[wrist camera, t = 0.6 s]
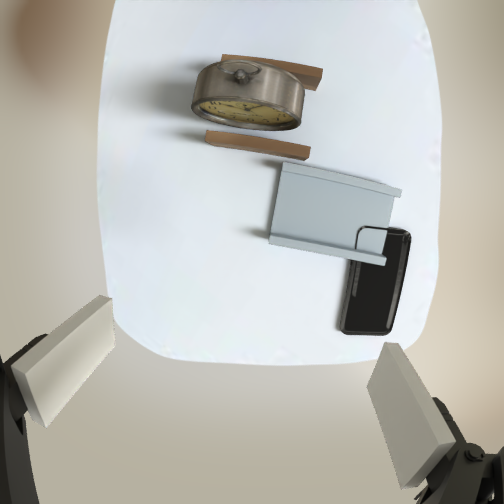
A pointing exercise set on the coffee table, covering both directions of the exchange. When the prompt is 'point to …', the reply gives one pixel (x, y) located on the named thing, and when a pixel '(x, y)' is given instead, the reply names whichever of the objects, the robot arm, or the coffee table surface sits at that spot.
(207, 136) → the channel
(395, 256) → the phone
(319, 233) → the cradle
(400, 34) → the coffee table surface
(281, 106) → the alarm clock
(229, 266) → the coffee table surface
